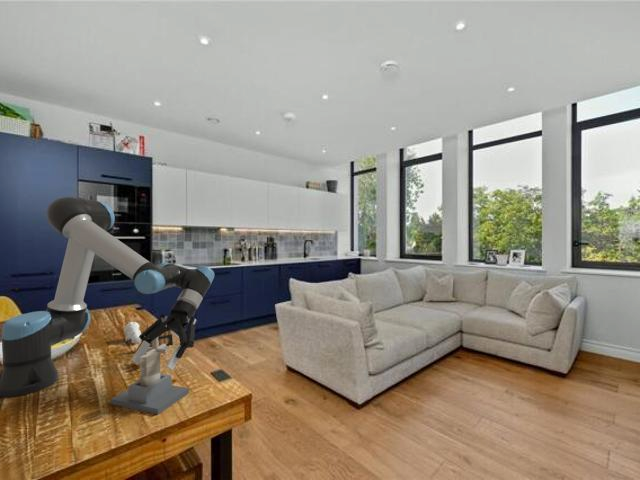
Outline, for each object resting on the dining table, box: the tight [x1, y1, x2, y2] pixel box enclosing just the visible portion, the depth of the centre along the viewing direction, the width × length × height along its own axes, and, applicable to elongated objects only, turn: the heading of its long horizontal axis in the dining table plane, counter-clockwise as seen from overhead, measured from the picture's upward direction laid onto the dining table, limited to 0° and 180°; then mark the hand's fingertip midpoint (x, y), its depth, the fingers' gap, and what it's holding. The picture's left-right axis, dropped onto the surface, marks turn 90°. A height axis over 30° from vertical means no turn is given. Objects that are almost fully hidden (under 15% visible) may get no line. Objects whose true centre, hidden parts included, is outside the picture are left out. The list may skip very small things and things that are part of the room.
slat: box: [139, 351, 161, 387], centre depth 93 cm, size 2×5×12 cm, turn 162°
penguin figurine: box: [123, 321, 142, 345], centre depth 142 cm, size 6×8×12 cm
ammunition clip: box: [146, 321, 174, 347], centre depth 134 cm, size 11×2×12 cm, turn 133°
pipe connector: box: [144, 337, 169, 355], centre depth 118 cm, size 10×10×10 cm
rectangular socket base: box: [109, 372, 190, 415], centre depth 93 cm, size 18×12×6 cm, turn 72°
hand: (151, 365), depth 92 cm, fingers open, 13 cm apart
